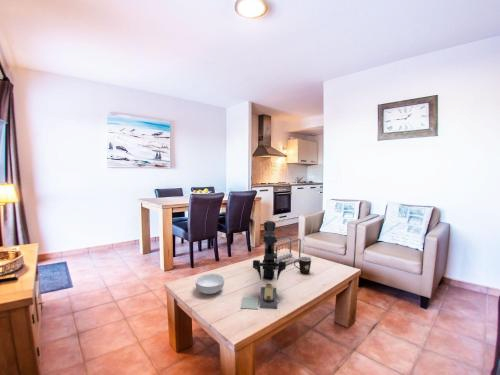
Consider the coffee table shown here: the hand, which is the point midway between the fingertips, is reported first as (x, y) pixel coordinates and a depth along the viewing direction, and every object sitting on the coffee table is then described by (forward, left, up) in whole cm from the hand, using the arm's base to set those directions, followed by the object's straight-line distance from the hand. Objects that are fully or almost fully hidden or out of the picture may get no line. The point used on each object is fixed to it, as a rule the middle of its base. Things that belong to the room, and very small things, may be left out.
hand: (268, 279), depth 138 cm
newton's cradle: (-4, +57, -12) cm, 58 cm away
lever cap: (+1, -5, -11) cm, 12 cm away
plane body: (0, 0, -11) cm, 11 cm away
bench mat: (-8, -8, -11) cm, 16 cm away
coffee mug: (+12, +44, -12) cm, 47 cm away
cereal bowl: (-35, -4, -12) cm, 37 cm away
